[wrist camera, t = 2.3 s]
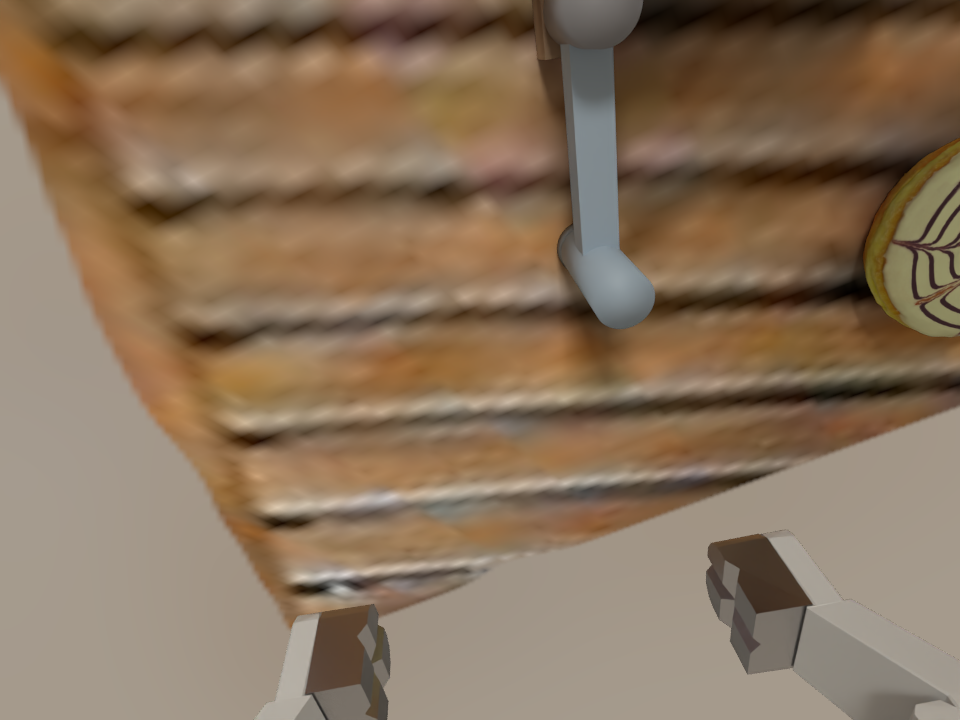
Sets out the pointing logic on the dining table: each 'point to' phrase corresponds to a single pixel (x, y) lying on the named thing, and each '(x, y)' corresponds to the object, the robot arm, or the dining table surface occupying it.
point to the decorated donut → (920, 246)
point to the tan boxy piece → (543, 35)
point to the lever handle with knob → (596, 157)
